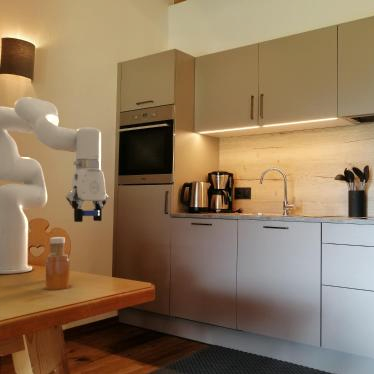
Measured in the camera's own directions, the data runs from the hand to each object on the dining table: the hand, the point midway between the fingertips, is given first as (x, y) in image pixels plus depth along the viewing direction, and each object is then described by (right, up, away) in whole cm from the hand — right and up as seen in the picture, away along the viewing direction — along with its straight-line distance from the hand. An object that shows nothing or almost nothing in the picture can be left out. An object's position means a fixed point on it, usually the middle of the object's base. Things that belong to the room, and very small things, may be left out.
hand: (88, 220), depth 135 cm
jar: (-5, -19, -12) cm, 22 cm away
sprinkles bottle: (-11, -19, +2) cm, 22 cm away
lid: (0, +3, 0) cm, 3 cm away
